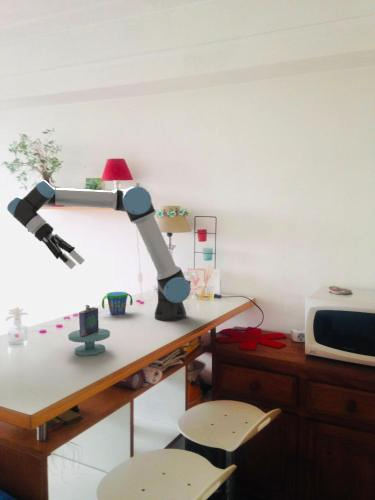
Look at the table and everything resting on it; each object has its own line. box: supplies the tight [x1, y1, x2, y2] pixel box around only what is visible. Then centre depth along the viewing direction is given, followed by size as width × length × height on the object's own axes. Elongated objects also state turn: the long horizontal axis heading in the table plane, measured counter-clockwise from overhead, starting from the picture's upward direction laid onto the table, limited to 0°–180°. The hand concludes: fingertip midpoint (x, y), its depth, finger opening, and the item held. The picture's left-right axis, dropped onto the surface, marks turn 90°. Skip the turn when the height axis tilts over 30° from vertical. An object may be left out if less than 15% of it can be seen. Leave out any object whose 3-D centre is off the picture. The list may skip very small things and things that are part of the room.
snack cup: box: [101, 291, 134, 316], centre depth 222 cm, size 16×10×10 cm
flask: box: [78, 304, 100, 337], centre depth 164 cm, size 9×3×11 cm, turn 150°
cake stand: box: [68, 327, 111, 357], centre depth 165 cm, size 15×15×6 cm
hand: (78, 264), depth 183 cm, fingers open, 13 cm apart
